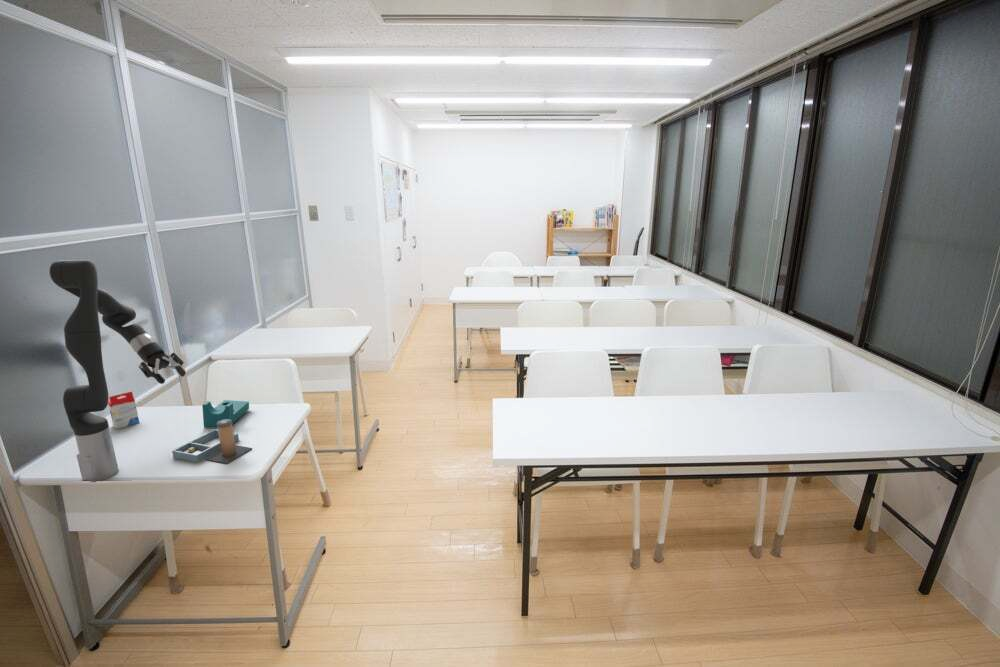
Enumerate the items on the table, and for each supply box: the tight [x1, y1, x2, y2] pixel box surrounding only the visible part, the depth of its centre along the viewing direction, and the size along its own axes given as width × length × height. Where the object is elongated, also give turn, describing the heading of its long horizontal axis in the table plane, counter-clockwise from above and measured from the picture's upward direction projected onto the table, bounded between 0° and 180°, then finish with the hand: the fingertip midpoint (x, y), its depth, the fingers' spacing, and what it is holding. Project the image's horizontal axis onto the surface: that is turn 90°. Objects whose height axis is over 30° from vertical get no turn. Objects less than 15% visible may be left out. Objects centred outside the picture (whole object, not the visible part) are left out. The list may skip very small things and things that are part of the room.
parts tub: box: [171, 428, 240, 464], centre depth 190 cm, size 19×12×3 cm, turn 162°
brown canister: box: [217, 419, 236, 457], centre depth 184 cm, size 5×5×13 cm
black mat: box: [205, 444, 253, 465], centre depth 186 cm, size 12×10×1 cm
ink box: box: [107, 391, 140, 430], centre depth 209 cm, size 8×5×15 cm, turn 139°
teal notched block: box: [202, 399, 250, 429], centre depth 216 cm, size 18×11×10 cm, turn 2°
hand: (174, 378), depth 189 cm, fingers open, 8 cm apart
